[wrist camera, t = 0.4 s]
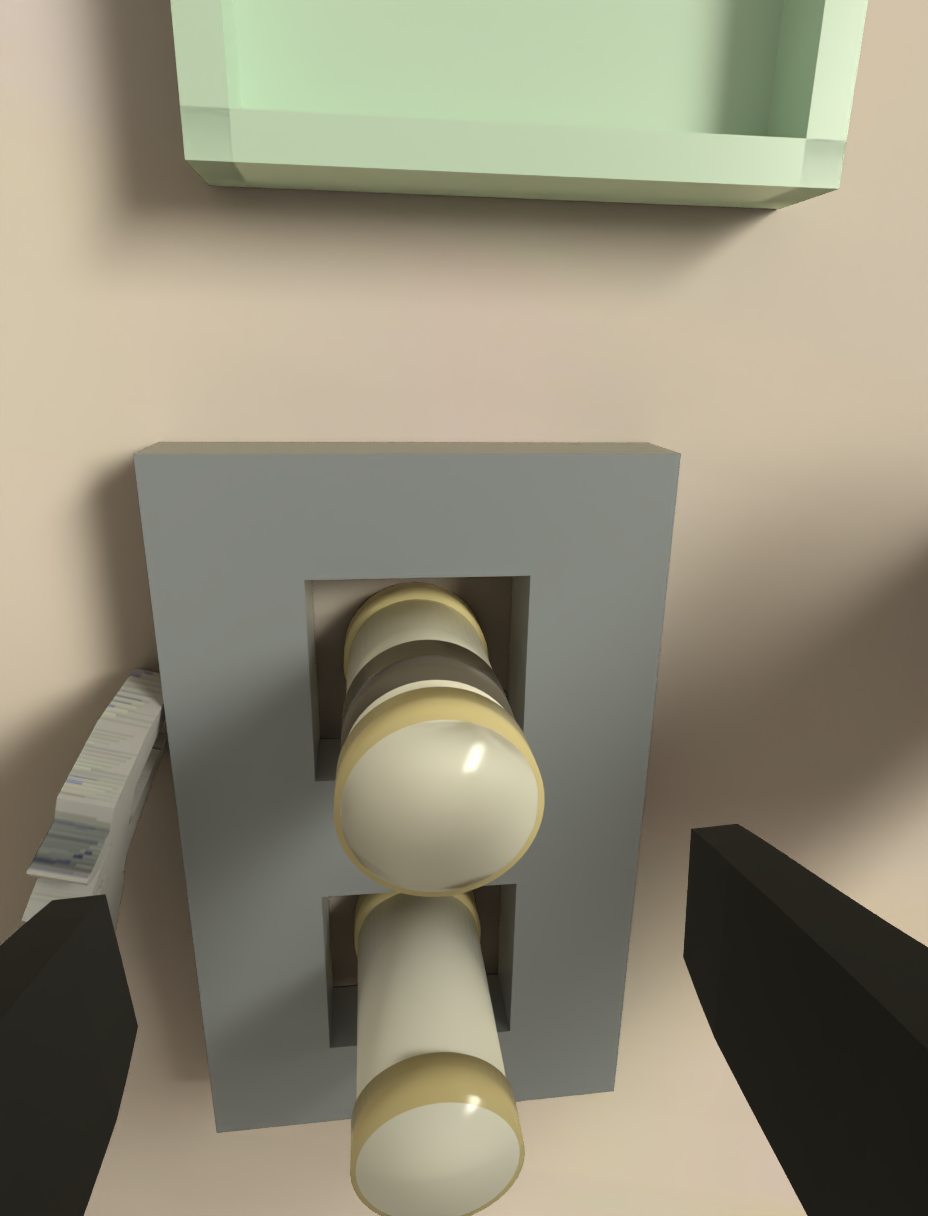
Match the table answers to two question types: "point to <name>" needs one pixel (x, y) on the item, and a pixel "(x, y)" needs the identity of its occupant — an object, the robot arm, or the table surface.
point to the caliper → (103, 800)
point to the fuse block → (306, 765)
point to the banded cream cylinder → (430, 749)
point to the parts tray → (522, 97)
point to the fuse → (428, 1063)
